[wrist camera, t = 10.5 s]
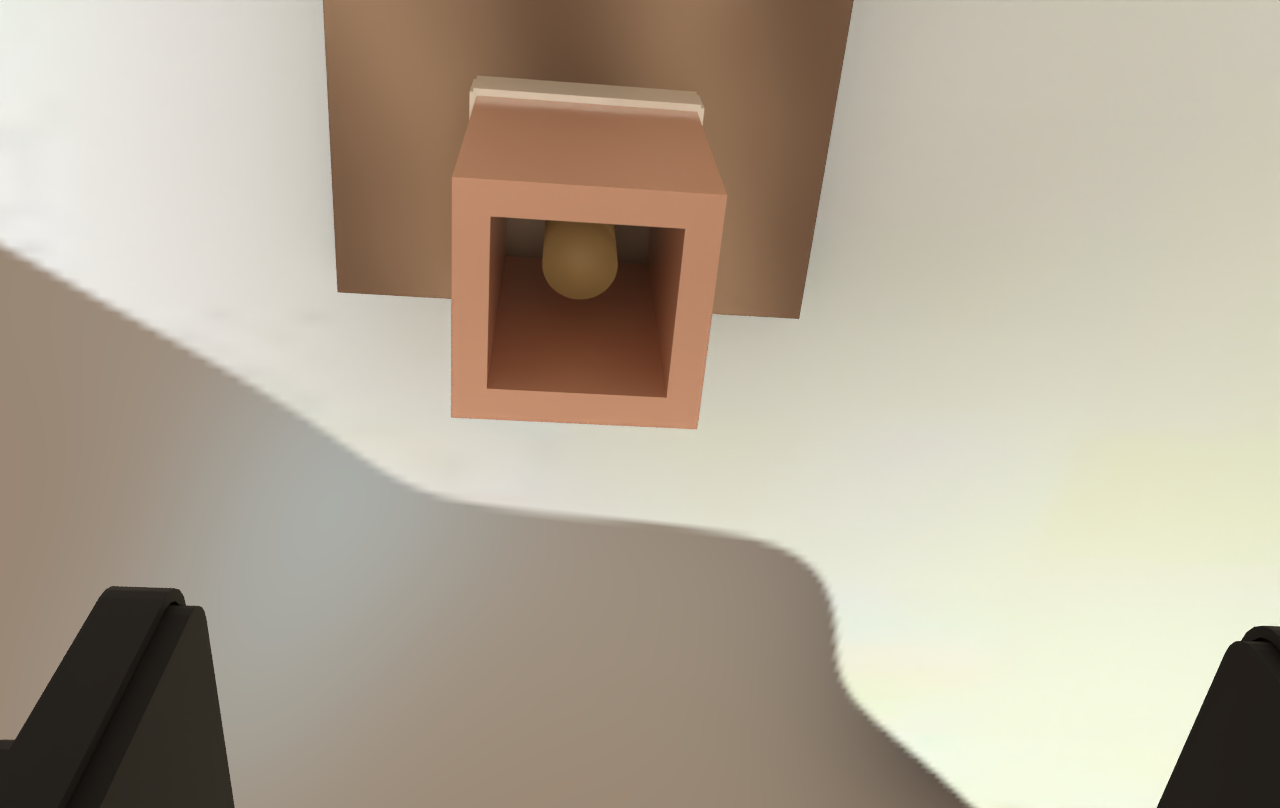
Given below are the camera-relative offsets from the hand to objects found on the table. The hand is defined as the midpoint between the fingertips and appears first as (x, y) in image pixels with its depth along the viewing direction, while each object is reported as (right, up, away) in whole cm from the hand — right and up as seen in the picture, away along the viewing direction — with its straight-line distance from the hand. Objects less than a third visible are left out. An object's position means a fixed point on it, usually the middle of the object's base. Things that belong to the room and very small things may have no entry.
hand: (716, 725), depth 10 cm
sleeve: (-2, +8, +17) cm, 19 cm away
